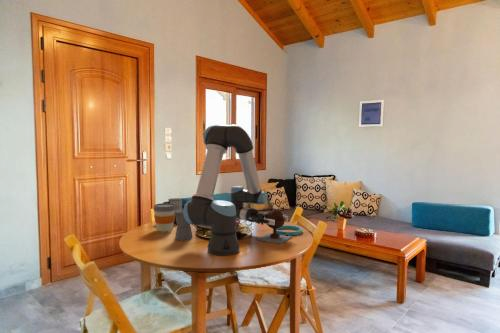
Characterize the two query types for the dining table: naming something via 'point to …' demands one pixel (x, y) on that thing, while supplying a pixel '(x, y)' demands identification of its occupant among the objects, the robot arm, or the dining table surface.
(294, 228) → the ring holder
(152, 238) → the dining table surface
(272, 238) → the mat
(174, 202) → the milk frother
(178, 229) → the coffeepot
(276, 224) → the ice cream bowl
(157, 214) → the reusable coffee cup
